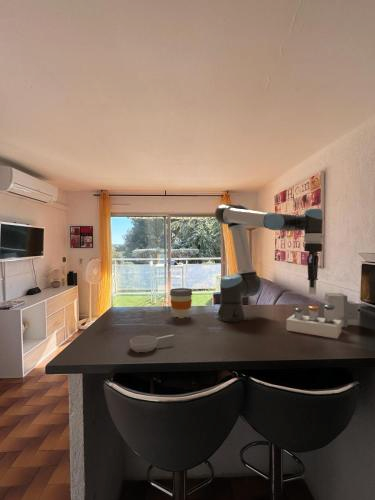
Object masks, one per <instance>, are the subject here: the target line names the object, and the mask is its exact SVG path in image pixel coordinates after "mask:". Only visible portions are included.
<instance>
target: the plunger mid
mask: <svg viewBox="0 0 375 500" xmlns="http://www.w3.org/2000/svg"><path fill="white" fill-rule="evenodd" d="M319 309H320V307H319V306H318V305H317V306H316V305H308V316H309V321H315V322H318V317H319Z"/></svg>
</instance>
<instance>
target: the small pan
mask: <svg viewBox="0 0 375 500" xmlns="http://www.w3.org/2000/svg"><path fill="white" fill-rule="evenodd" d="M171 337H175V334H174V333H173V334H169V335H168V334H167V335H163V336H159V337H156V336H154V335H138V336H134V337H132V338H131V339H129V346H130V349H132V351H133V352H135V353H139V352H145V353H150V352H152V351H154V350H155V349H156V347H157V345H158V340H163V339H166V338H171ZM149 351H150V352H149Z"/></svg>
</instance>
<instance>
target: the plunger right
mask: <svg viewBox="0 0 375 500" xmlns="http://www.w3.org/2000/svg"><path fill="white" fill-rule="evenodd" d="M323 308H324V318H325V323H330V324H334V308H335V306H333V305H327V304H324V305H323Z"/></svg>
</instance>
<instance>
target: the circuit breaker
mask: <svg viewBox="0 0 375 500" xmlns="http://www.w3.org/2000/svg"><path fill="white" fill-rule="evenodd" d="M324 302H325V305H333V306H335V308H334V320H341V328H348V325H349V323H348V320H357V321H358V319H359V318H358V317H359V315H358V313H359V312H361V309H360V308H358V303H356V302H354V301H352V300H348V295H347V294H344V293H343V292H341V293H340V292H325V293H324Z"/></svg>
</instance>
